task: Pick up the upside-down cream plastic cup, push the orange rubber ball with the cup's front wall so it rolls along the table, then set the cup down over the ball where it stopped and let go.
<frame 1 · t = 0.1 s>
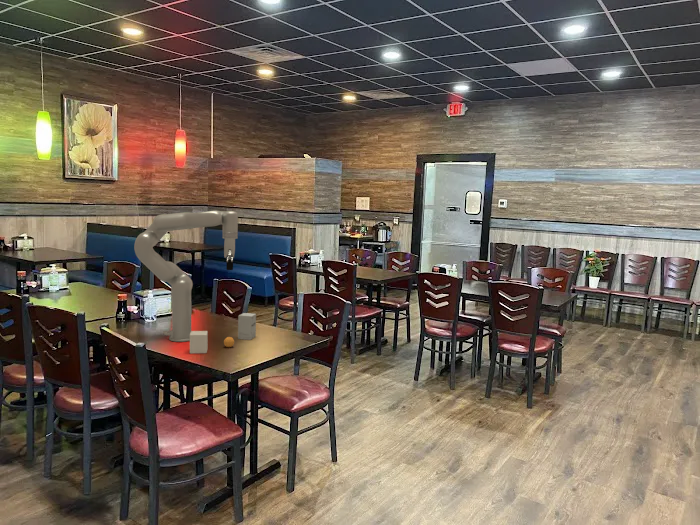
hand: (229, 268, 282), 37 cm above the table, tool pointing down, fingers open, 9 cm apart
supplement box: (246, 338, 288), on the table
ball: (229, 342, 269), on the table
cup: (198, 351, 261), on the table
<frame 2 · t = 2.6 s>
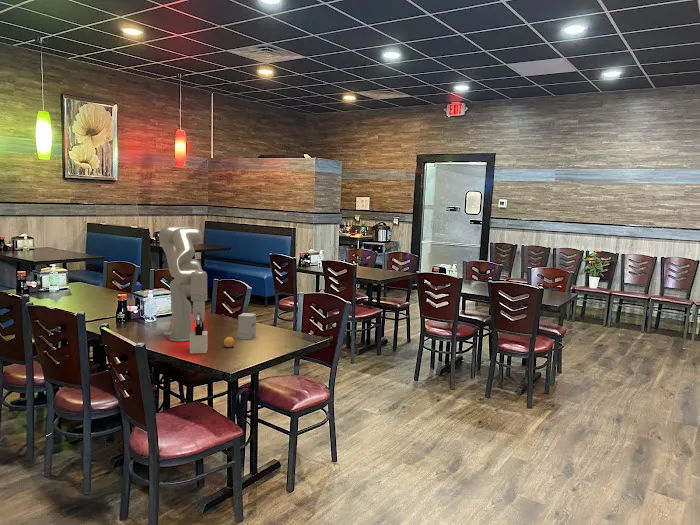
hand: (199, 333, 259), 9 cm above the table, tool pointing down, fingers open, 9 cm apart
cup: (198, 351, 261), on the table, touching gripper
everything else where it was.
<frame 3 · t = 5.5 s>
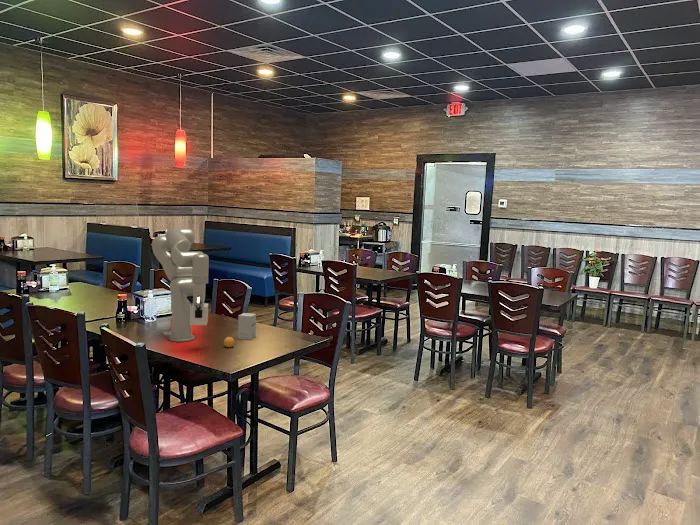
hand: (199, 315, 263), 16 cm above the table, tool pointing down, fingers closed on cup, 7 cm apart
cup: (199, 322, 264), point 13 cm above the table, touching gripper
everything else where it was.
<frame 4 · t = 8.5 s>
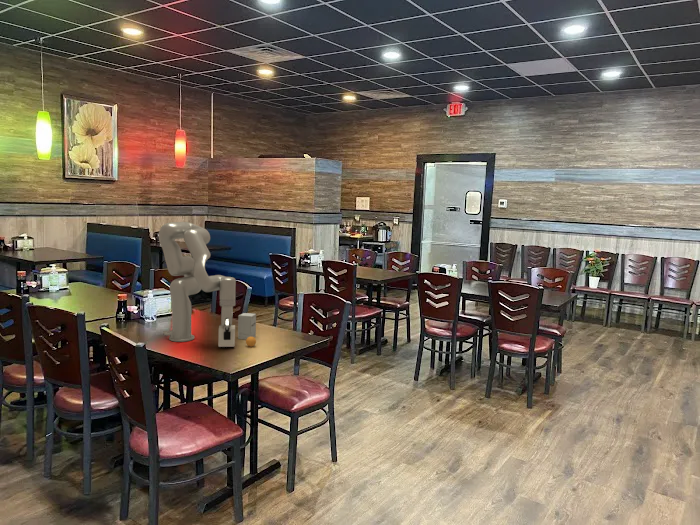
hand: (227, 337, 269), 5 cm above the table, tool pointing down, fingers closed on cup, 7 cm apart
ball: (250, 341, 272), on the table
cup: (226, 344, 269), point 1 cm above the table, touching gripper
everything else where it was.
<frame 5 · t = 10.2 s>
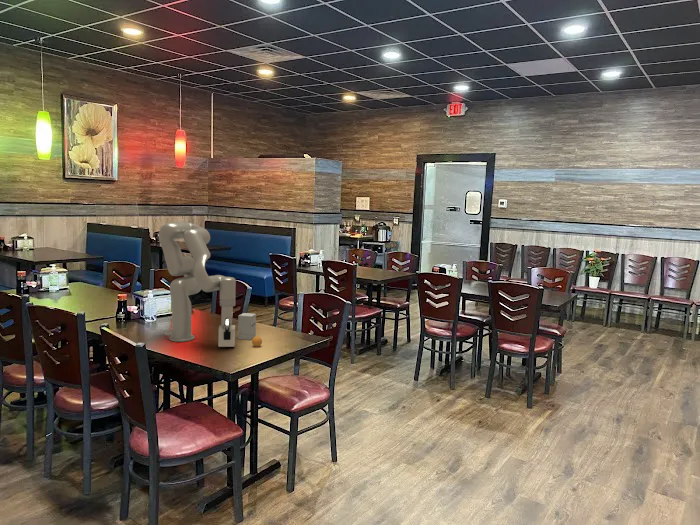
hand: (227, 337, 269), 5 cm above the table, tool pointing down, fingers closed on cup, 7 cm apart
ball: (256, 341, 272), on the table
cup: (226, 344, 269), point 1 cm above the table, touching gripper
everything else where it was.
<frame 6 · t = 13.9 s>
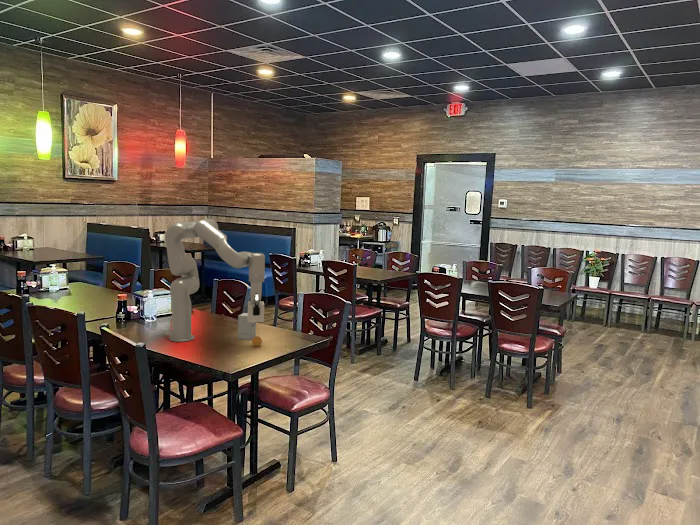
hand: (256, 313, 270), 17 cm above the table, tool pointing down, fingers closed on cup, 7 cm apart
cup: (255, 320, 271), point 13 cm above the table, touching gripper
everything else where it was.
when the fingers open (4 cm above the table, at t = 17.1 s): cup stays where it is, on the table.
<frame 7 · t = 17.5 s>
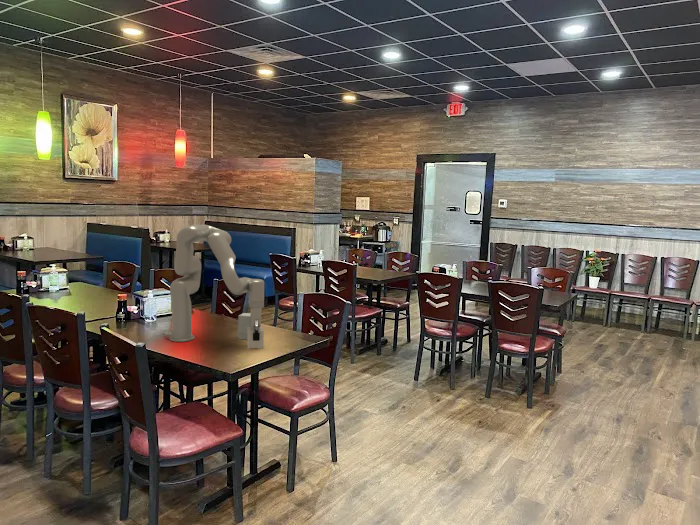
hand: (255, 338, 272), 4 cm above the table, tool pointing down, fingers open, 9 cm apart
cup: (255, 346, 272), on the table
everything else where it was.
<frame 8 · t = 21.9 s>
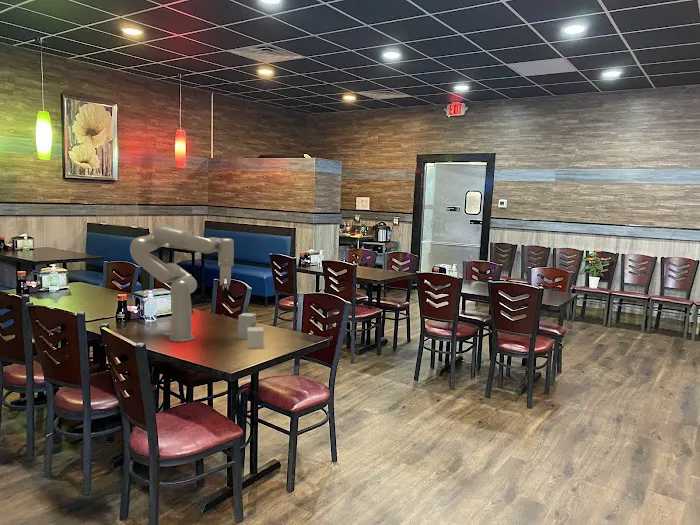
hand: (225, 296, 277), 23 cm above the table, tool pointing down, fingers open, 9 cm apart
nothing on the table moved.
at the end: ball 0.6 cm from the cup (horizontally); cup on the table; ball moved 13.3 cm from its start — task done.
